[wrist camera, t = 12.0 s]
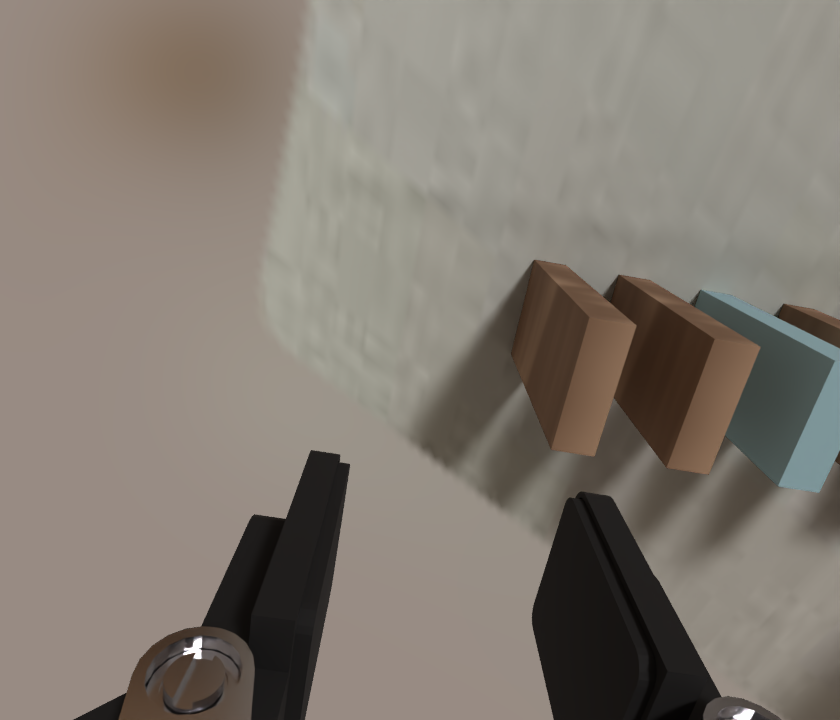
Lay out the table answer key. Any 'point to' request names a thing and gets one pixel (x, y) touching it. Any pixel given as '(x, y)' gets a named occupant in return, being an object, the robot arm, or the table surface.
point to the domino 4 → (813, 326)
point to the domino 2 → (679, 374)
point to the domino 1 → (570, 356)
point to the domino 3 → (783, 396)
